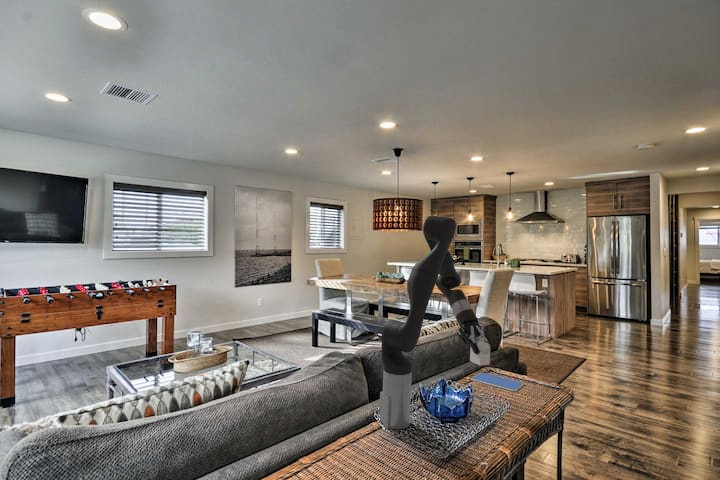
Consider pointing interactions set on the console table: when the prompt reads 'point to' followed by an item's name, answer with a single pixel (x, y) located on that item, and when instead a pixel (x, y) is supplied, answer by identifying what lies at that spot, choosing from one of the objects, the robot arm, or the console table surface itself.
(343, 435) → the console table surface
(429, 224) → the robot arm
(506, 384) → the tablet computer
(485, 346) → the cylinder
